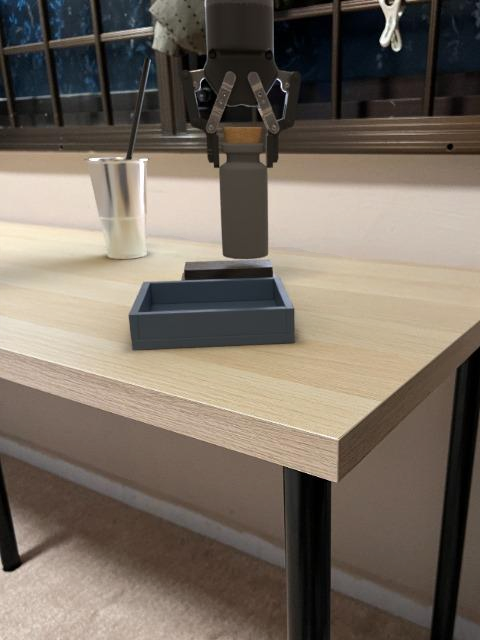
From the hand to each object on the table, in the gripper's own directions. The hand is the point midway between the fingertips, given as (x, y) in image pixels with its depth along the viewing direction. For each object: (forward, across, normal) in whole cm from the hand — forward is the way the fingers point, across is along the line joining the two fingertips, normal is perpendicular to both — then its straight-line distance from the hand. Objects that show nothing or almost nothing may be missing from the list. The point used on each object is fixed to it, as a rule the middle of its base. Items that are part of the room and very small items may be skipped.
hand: (243, 167), depth 73 cm
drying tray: (+15, -4, -15) cm, 22 cm away
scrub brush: (+15, -2, 0) cm, 15 cm away
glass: (+16, -18, +28) cm, 37 cm away
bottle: (+11, 0, 0) cm, 11 cm away
